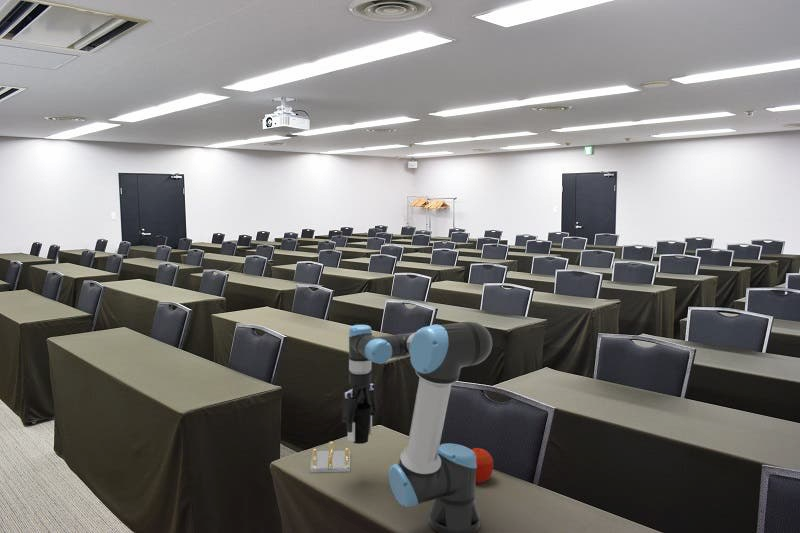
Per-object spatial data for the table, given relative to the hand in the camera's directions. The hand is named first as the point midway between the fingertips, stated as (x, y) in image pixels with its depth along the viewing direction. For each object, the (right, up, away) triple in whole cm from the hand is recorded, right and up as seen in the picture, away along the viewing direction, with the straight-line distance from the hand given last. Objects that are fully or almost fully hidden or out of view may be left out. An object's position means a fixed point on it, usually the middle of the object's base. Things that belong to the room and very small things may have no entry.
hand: (359, 436), depth 191 cm
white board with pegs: (-12, -14, +14) cm, 23 cm away
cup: (0, -1, 0) cm, 1 cm away
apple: (+40, -16, +4) cm, 44 cm away
